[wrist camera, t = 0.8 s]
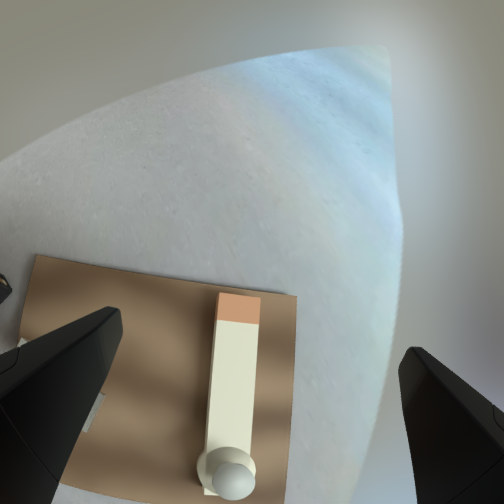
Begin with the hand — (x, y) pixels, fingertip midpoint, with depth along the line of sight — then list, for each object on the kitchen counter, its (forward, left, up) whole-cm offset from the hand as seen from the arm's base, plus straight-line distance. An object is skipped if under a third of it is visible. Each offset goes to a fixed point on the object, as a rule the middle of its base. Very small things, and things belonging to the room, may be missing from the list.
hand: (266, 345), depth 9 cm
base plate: (-3, +4, -16) cm, 16 cm away
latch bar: (-2, -2, -14) cm, 15 cm away
